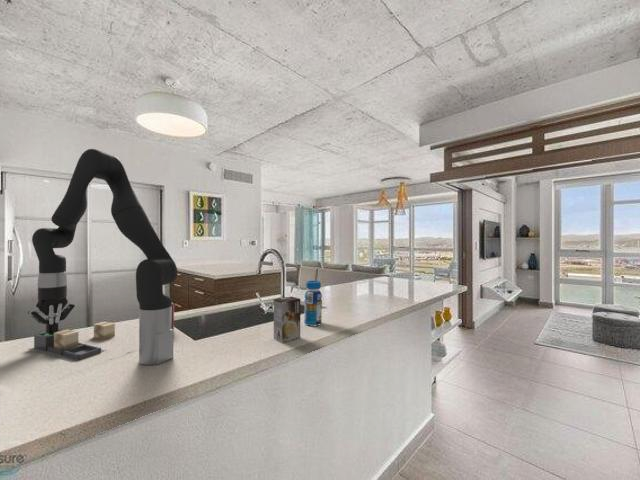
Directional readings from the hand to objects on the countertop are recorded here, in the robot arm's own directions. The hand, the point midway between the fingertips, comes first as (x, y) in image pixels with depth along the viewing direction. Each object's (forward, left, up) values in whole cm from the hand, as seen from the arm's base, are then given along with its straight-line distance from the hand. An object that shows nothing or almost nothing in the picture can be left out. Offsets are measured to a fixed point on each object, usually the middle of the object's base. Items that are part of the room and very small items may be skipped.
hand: (52, 333), depth 102 cm
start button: (0, 0, -3) cm, 3 cm away
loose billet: (-6, -14, -5) cm, 16 cm away
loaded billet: (-8, 0, -4) cm, 9 cm away
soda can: (-20, -29, -6) cm, 35 cm away
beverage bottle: (-72, -66, -6) cm, 98 cm away
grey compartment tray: (-9, 0, -5) cm, 10 cm away
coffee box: (-70, -44, -6) cm, 83 cm away
